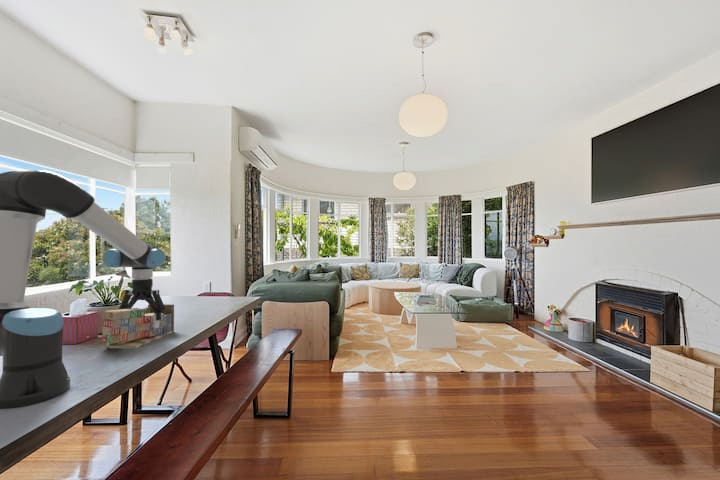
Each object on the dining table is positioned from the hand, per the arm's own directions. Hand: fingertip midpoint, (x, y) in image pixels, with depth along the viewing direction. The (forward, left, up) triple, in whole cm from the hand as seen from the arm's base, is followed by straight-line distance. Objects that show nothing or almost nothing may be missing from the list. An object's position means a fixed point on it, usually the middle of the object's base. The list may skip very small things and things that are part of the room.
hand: (142, 327), depth 138 cm
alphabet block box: (+5, 0, -5) cm, 7 cm away
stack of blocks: (-4, +1, -4) cm, 5 cm away
